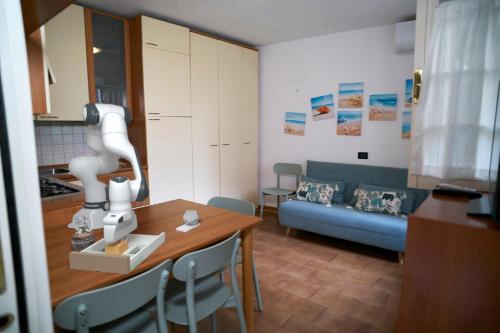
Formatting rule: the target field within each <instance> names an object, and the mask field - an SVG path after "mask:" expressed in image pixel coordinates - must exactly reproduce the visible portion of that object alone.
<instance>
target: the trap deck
mask: <svg viewBox="0 0 500 333" xmlns="http://www.w3.org/2000/svg"><path fill="white" fill-rule="evenodd" d="M127 240H128V250H127V251H125V252H124V253H123V254H121V255H115V254H105V246H106V245H107V244H109V243H106V242H105V240H104V237H103V238H101V239H100V240H98V241H96V242H94V244H93V245H91V246H89V247H88V248H86V249H84V250H82V251H81V252H77V251H74V250H72V251H70V252H69V253H68V257H69V269H70V270H73V269H76V270H75V271H85V270H86V271H87V272H96V271H100V272H101V273H108V272H109V273H110V274H122V275H129V273H131V272H132V271H133V270H134V269H136V268H137V267H138V266H139V265H140V264H141V263H142V262H143V261H145V260H146V259H147V258H148V257H149V256H150V255H151V254H152V253H154V252H155V251H156V250H157V249H158V248H159V247H160V246H162V245H163V244H164V243H165V242H166V232H165V231H162V232H161V233H160V234H158V235H155V234H154V235H152V234H140V233H139V234H138V233H137V234H135V233H128V237H127ZM86 271H85V272H86ZM100 272H99V273H100Z"/></svg>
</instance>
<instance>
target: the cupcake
mask: <svg viewBox="0 0 500 333" xmlns="http://www.w3.org/2000/svg"><path fill="white" fill-rule="evenodd" d="M95 241H96V235H95V234H94V232H93V230H91V229H90V227H89V226H83V227H78V228H76V229H75V231H74V233H73V235H72V238H71V241H70V242H71V245H72V248H73V251H77V252H81V251H82V250H84V249H86V248H88V247H89V246H91V245H93V244H94V243H95Z"/></svg>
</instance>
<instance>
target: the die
mask: <svg viewBox="0 0 500 333" xmlns="http://www.w3.org/2000/svg"><path fill="white" fill-rule="evenodd" d="M182 219H183V222H184V223H185V224H184V225H185V226H186V225H197V224H198V223H199V222H198V221H199V220H200V216H199V214H198V211H197V210H196V209H195V210H194V209H186V210H185V213H184V214H183V216H182Z"/></svg>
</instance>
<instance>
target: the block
mask: <svg viewBox="0 0 500 333" xmlns="http://www.w3.org/2000/svg"><path fill="white" fill-rule="evenodd" d="M127 250H128V240H125V241H116V242H115V243H109V244H107V245H106V246H105V254H115V255H121V254H123V253H124V252H125V251H127Z"/></svg>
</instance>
